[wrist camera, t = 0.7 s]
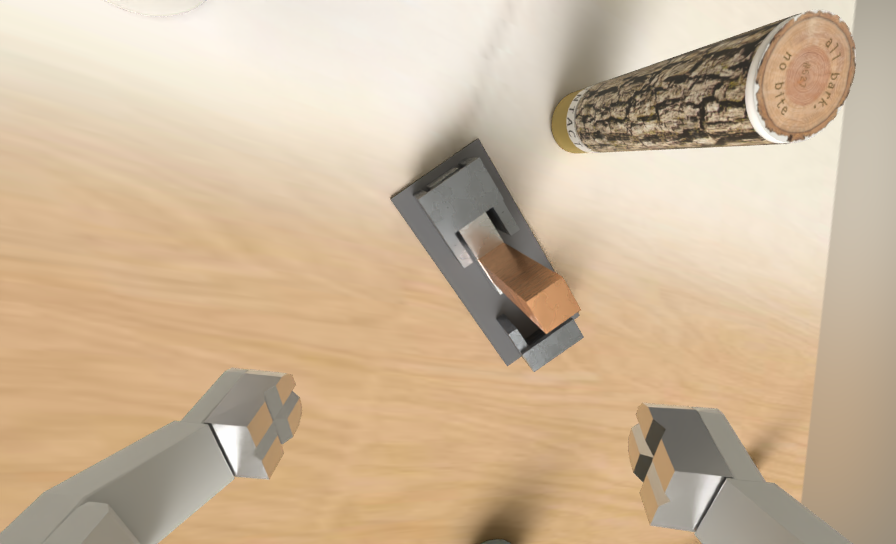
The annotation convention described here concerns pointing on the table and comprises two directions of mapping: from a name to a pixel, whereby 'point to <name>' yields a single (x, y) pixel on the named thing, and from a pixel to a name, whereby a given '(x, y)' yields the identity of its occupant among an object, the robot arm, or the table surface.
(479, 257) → the brown piece
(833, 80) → the paper tube
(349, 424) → the table surface
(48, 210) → the table surface
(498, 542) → the grey-green cup
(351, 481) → the table surface
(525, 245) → the grey rectangular plate
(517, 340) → the socket
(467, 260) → the grey u-shaped block
